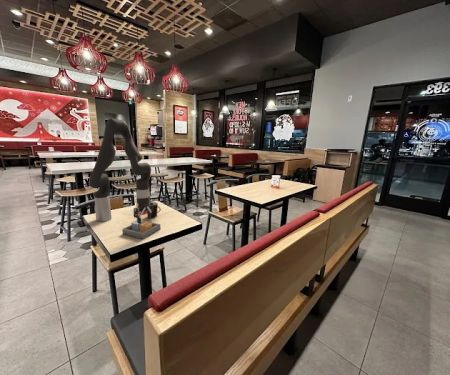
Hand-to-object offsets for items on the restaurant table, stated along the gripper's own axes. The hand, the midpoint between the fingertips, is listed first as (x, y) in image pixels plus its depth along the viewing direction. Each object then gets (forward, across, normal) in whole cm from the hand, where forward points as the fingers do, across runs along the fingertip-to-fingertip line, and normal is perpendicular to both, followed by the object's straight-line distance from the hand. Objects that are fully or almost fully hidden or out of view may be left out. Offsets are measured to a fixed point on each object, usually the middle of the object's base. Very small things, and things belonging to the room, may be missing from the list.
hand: (144, 220), depth 133 cm
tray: (+8, 0, -2) cm, 8 cm away
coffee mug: (+8, -23, -14) cm, 28 cm away
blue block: (+7, 0, -6) cm, 9 cm away
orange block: (+7, 0, +1) cm, 7 cm away
